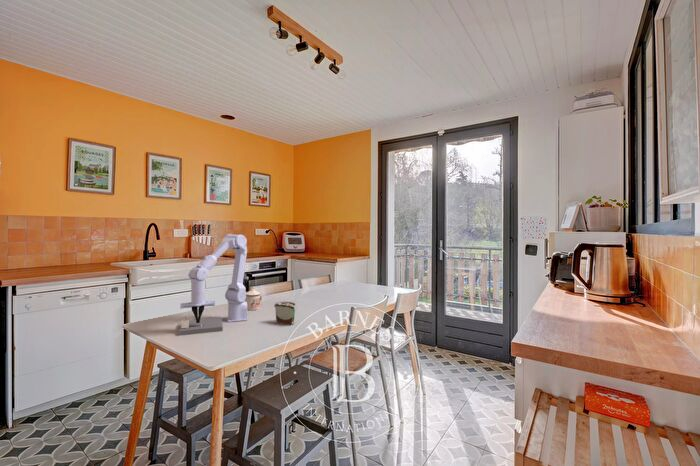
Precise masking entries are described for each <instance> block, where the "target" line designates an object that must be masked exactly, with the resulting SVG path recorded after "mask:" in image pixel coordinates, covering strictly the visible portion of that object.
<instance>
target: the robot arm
mask: <svg viewBox="0 0 700 466" xmlns="http://www.w3.org/2000/svg"><path fill="white" fill-rule="evenodd" d="M247 241H248V239H247V238H246V236H245V235H244V234H233V233H228V234H226V236H224V237H223V238H222V241H221V242H220V244H218V246H217V247H216V248H215V250H214V251H213V252H212V253H211V254H208V255H205V256H204V257H203V258H202V260H201V261H200V262H199V263H197V264H196V266H194V267H192V268H191V269H190V271H189V273H188V274H187V275H188V277H189V279H190V282H191V283H190V284H191V286H190V287H191V291H190V292H191V294H190V295H191V296H190V298H191V299H190V302H184V303H180V305H179V306H180V309H188V308H189V309H190V308H191V311H192V314H193V315H194V317H195V320H196V323H200V319H202V315H203V312H204V310H205V307H216V300H215V301H214V300H212V301H211V300H205V299H206V293H205V292H206V279H207V278H208V275H209V272H210V271H211V270H212V269H213V268H214V267H215V266H216V264H217V263H218V261H217V260H218V259H219V258H220V257H221V256H222V255H223V254H224V253H225V252H227V251H228V250H229V249H232V250H233V251H234V253H235V256H234V263H233V271H232V277H231V282H230V284H228V286H227V289H226V291H225V293H224V297H225V299H226V300H227V305H228V306H227V314H228V315H227V316H226V320H227V323H231V322H233V323H234V322H242V321H248V310H247V302H245V299H246V292H247V291H246V286H245V285H244V284H243V283H244V277H245V269H246V261H247V254H248V247H247V244H248V243H247Z"/></svg>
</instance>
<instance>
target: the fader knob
mask: <svg viewBox="0 0 700 466" xmlns="http://www.w3.org/2000/svg"><path fill="white" fill-rule="evenodd" d="M189 320H190V318H187V317H184V318H181V321H180V325H181V328H189Z"/></svg>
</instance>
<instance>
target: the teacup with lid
mask: <svg viewBox="0 0 700 466" xmlns="http://www.w3.org/2000/svg"><path fill="white" fill-rule="evenodd" d="M262 299H263V295H262V294H261V292H260V291H257V290H256V289H255V288H250V290H249V291H246V299H245V301H244V302H247V311H257V310H260V308H261V302H262V301H263V300H262Z"/></svg>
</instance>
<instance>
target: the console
mask: <svg viewBox="0 0 700 466" xmlns="http://www.w3.org/2000/svg"><path fill="white" fill-rule="evenodd" d="M222 320H223V319H222V317H212V318H211V317H209V318H200V323H196V319H191V320H190V319H189V328H181V324H180V325H179V329H178V336H188V335H198V334H207V333H216V332H223V328H224V325H223V321H222Z"/></svg>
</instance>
